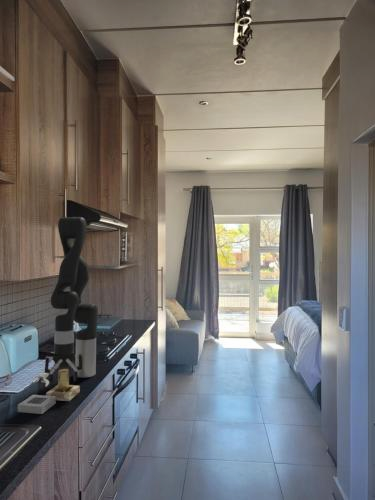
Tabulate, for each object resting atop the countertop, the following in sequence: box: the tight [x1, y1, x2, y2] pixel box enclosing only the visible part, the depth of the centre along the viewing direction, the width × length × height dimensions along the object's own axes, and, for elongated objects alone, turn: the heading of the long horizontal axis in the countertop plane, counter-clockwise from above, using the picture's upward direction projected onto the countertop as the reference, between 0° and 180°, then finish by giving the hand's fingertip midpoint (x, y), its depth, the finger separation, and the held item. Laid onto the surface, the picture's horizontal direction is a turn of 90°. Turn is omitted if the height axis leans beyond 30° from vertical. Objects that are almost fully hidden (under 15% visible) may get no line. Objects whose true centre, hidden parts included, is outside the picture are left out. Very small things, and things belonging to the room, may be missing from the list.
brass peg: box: [57, 368, 70, 392], centre depth 145 cm, size 4×4×10 cm
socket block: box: [17, 394, 57, 415], centre depth 134 cm, size 10×10×2 cm
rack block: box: [45, 384, 81, 402], centre depth 145 cm, size 10×10×2 cm
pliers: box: [32, 372, 50, 388], centre depth 161 cm, size 10×2×15 cm
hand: (63, 381), depth 145 cm, fingers open, 8 cm apart
